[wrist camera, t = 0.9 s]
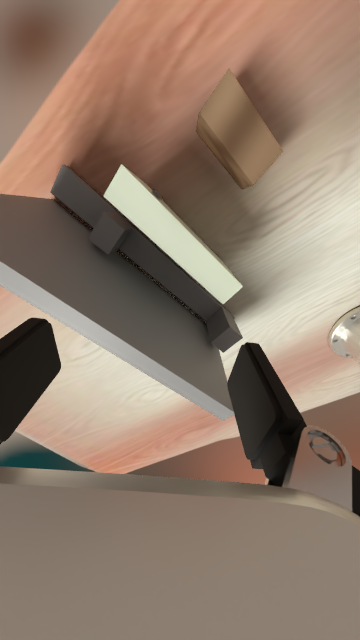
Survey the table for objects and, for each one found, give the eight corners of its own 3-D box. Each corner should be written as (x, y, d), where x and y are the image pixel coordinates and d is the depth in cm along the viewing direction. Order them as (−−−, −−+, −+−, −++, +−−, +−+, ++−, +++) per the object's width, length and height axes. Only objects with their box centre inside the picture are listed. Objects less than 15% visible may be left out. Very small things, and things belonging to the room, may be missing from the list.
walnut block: (265, 162, 25) (283, 151, 21) (241, 189, 26) (253, 184, 22) (219, 96, 22) (229, 67, 18) (196, 131, 23) (199, 113, 19)
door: (225, 260, 31) (246, 283, 21) (210, 275, 32) (223, 304, 22) (147, 180, 26) (124, 159, 15) (133, 202, 27) (103, 196, 17)
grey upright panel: (232, 315, 36) (271, 392, 21) (206, 337, 39) (223, 420, 23) (67, 166, 25) (-120, 90, 10) (47, 211, 28) (-126, 209, 12)
